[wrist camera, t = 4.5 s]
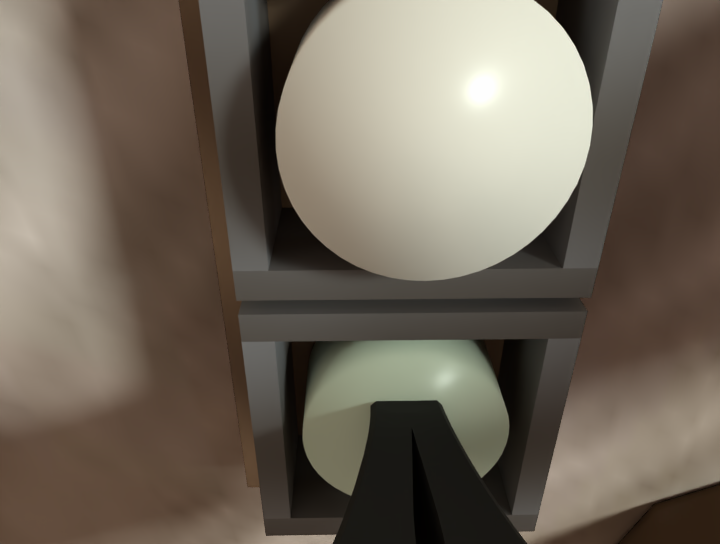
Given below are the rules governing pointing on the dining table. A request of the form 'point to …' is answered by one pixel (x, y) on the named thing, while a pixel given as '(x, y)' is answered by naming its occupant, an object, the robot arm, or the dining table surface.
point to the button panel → (380, 293)
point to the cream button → (432, 131)
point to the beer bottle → (680, 521)
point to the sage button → (398, 398)
